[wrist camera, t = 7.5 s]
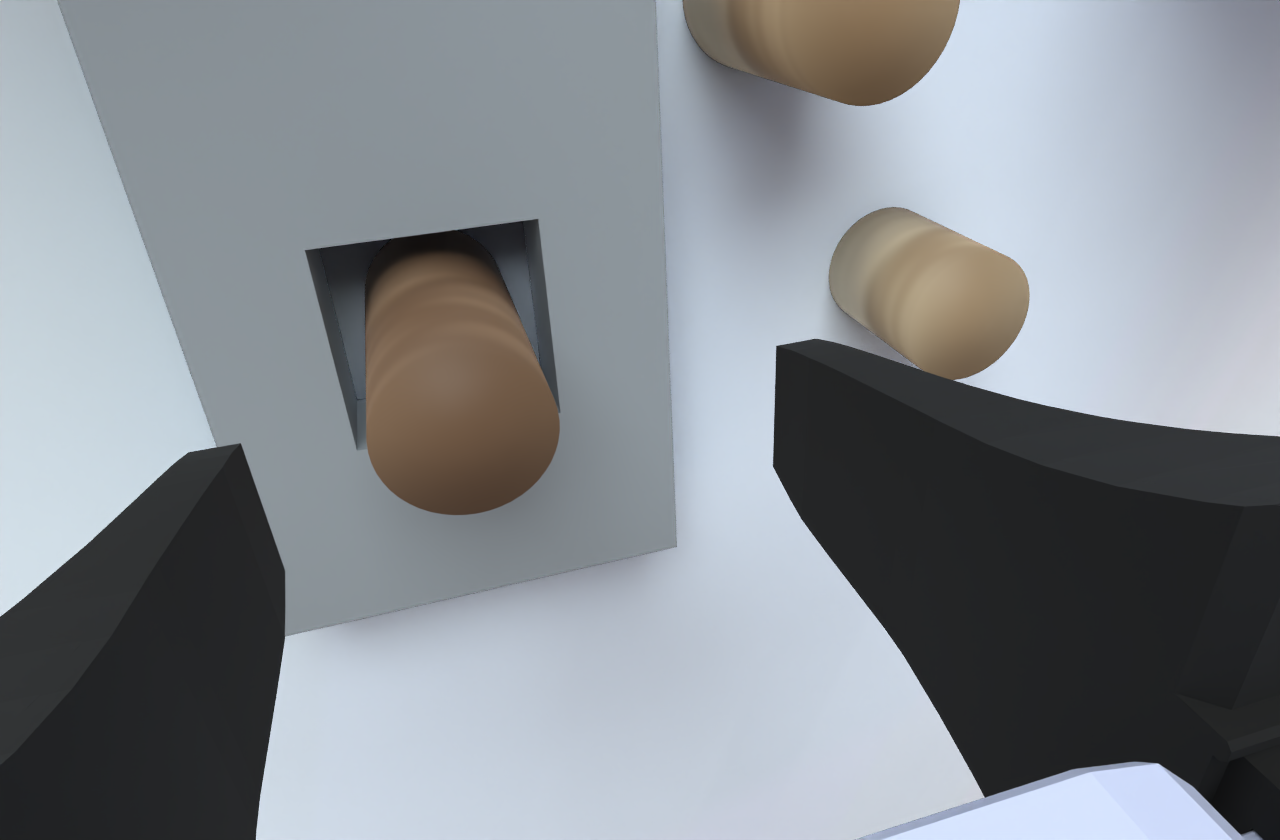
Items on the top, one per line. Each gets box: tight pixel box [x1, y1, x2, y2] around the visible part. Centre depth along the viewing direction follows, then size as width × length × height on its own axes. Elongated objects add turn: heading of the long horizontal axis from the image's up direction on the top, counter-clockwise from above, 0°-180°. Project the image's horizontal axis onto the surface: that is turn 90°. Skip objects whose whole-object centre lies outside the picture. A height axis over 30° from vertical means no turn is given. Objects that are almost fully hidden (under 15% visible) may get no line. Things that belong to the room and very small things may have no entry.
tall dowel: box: [365, 230, 560, 515], centre depth 17 cm, size 3×3×7 cm
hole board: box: [57, 0, 677, 636], centre depth 19 cm, size 10×14×2 cm
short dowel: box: [829, 207, 1029, 380], centre depth 22 cm, size 3×3×4 cm
